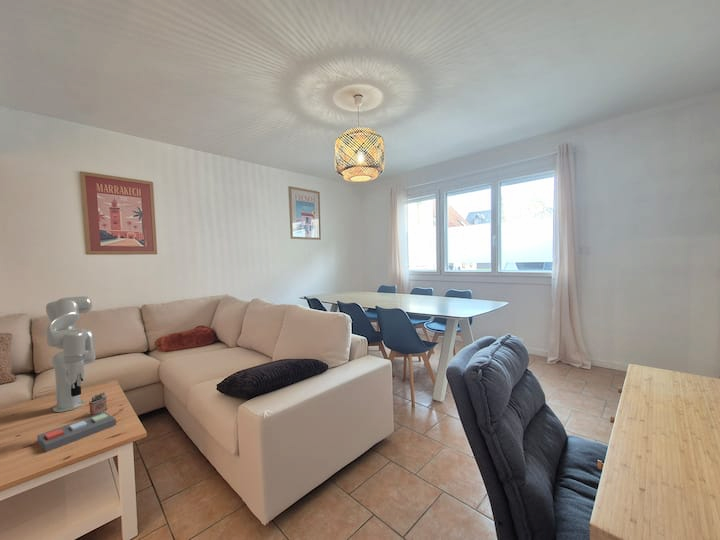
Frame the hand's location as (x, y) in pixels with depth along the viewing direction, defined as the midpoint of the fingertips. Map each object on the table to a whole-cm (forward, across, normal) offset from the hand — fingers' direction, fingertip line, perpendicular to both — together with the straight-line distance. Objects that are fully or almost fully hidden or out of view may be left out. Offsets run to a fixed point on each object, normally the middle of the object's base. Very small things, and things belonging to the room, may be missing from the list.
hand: (76, 395), depth 141 cm
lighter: (+18, -10, +11) cm, 23 cm away
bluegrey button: (+16, +6, -1) cm, 17 cm away
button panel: (+16, +6, -1) cm, 17 cm away
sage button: (+16, +6, +7) cm, 18 cm away
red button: (+16, +6, -9) cm, 19 cm away
